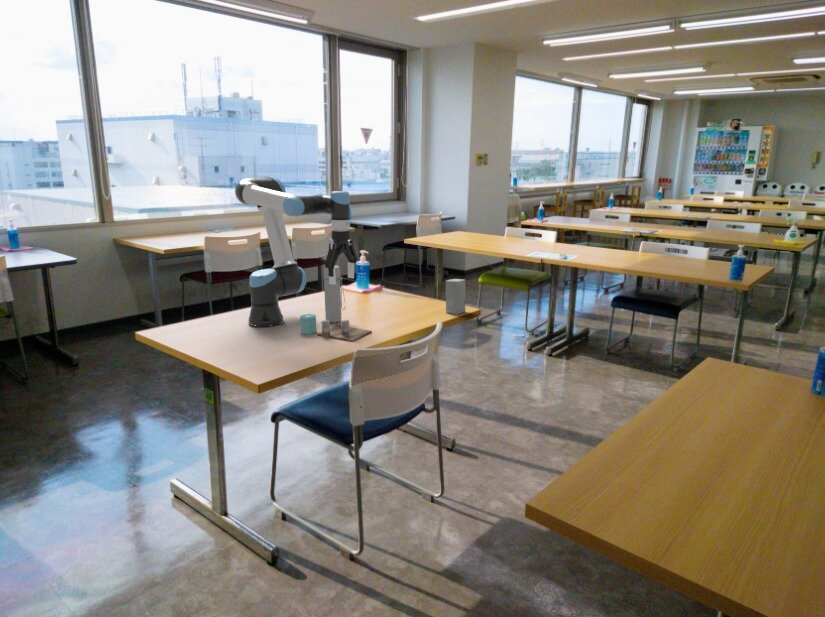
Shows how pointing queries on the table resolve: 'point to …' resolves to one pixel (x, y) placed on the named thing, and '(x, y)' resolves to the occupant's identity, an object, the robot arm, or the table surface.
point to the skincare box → (455, 296)
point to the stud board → (346, 337)
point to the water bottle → (333, 296)
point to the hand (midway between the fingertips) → (341, 281)
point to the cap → (308, 323)
